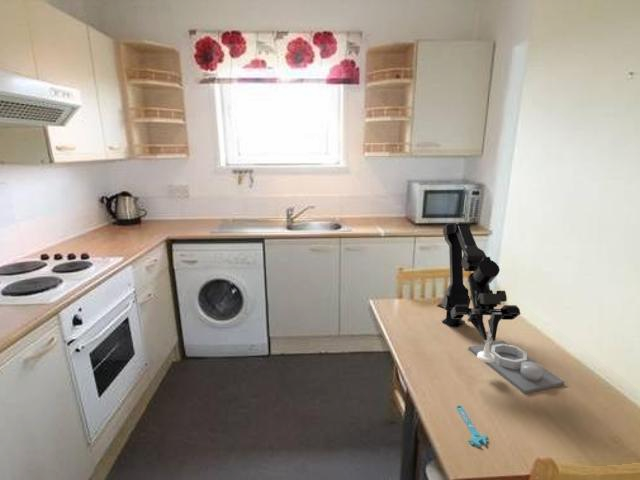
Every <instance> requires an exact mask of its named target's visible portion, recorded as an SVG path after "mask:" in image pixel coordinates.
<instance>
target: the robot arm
mask: <svg viewBox="0 0 640 480" xmlns="http://www.w3.org/2000/svg"><path fill="white" fill-rule="evenodd" d="M442 235H443V236H444V241H445V242H446V244H447V245H448V248H449V250H448V251H449V283H450V284H449V285H448V287H447V289H446V290H445V295H444V297H442V300H441V301H442V305H443V307H444V308H443V307H442V308H443V309H444V310H445V311H446V315H445V319H442V320H441V322H442V323H444V324H446V325H447V326H452V327H455V328H459V327H461V326H462V325H464V324H465V323H466V321H465V320H463V318H464V317H465V315H467V317H468V318H467V322H470V323H471V324H472V325H473V326H474V327H475V329H476V330H477V332H478V333H479V335H480V336H481V338H482V340H483V342H484V341H486V340H487V336H486V332H487V331H486V326H485V323H484V316H489V319H488V320H487V323H488V328H489V327H490V333H492V337H491V341H492V342H496V337H497V332H498V331H497V330H498V326H499V322H500V321H501V320H503V321H505V320H506V321H507V320H508V321H512V320H514V319H516V318H517V317H519V316H520V315H521V314H522V313H521V309H520V308H519V306H517V305H516V304H513V305H512V304H511V305H510V304H506V305H505V304H504V305H503V306H502V307H501V308H497V306H498V305H502V304H501V303H502V302H504V303H505V302H507V298H508V297H507V294H506V290H497V291H496V293H494V292H493V289H491V287H490V284H491V283H492V282H493V281H494V279H496V277H497V276H498V275H499V273H500V270H501V269H500V266H499V265H498V263H496V262H495V261H493V260H492V259H491V256H487V255H486V253H485V251H484V250H483V249H481V248H479V247H478V244H477V242H476V241H475V238H474V236H473V232H472V231H471V224H470V223H469V222H465V221H464V222H462V221H461V222H454V223H449V222H448V223H446V225H443V228H442ZM464 271H465V272H472V273H470V274H469V276H468V277H467V283H468V285H469V289H468V287H467V288H466V286H465V284H464V273H463V272H464ZM469 291H470V295H469ZM471 301H472V308H471V307H470V304H471Z"/></svg>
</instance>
